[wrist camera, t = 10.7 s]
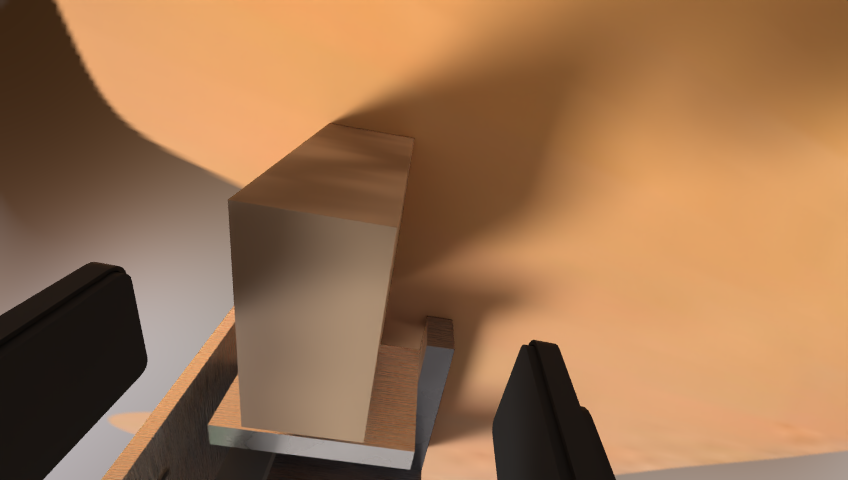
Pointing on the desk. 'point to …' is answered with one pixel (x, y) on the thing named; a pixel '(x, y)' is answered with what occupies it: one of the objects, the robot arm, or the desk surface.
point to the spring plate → (382, 444)
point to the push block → (316, 280)
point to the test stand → (290, 474)
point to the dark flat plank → (245, 464)
